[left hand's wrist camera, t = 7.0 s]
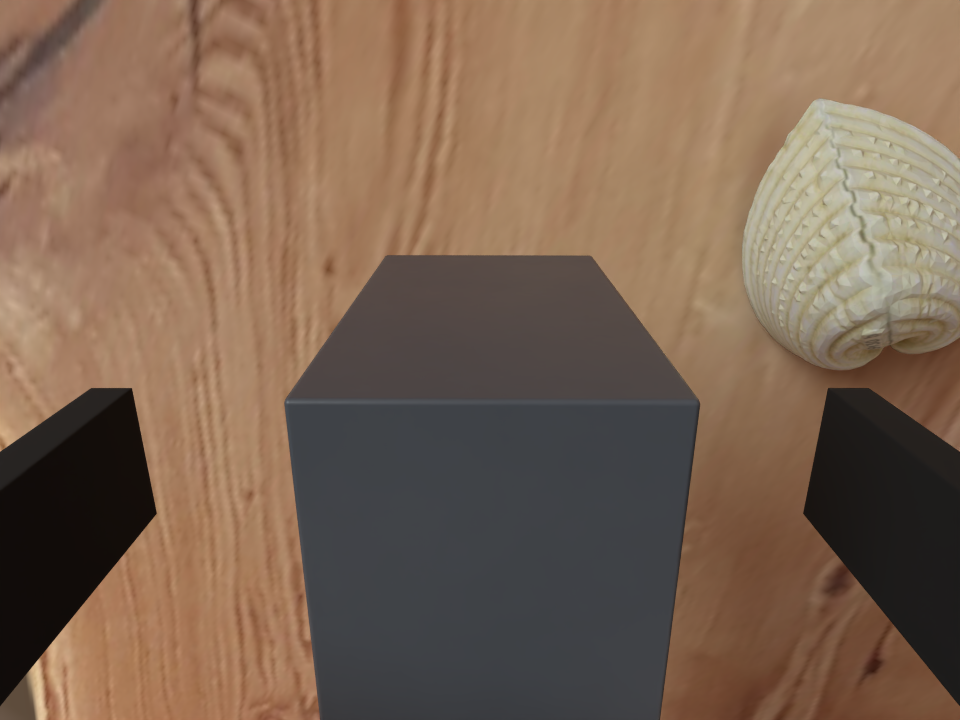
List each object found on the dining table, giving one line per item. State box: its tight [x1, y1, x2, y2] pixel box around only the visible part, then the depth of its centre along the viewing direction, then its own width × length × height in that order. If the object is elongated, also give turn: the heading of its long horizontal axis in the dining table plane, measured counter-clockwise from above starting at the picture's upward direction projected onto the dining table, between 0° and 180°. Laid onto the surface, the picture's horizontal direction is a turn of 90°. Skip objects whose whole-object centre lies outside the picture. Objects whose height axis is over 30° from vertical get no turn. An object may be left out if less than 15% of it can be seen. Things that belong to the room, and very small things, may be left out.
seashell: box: [742, 98, 960, 370], centre depth 23 cm, size 8×8×8 cm
